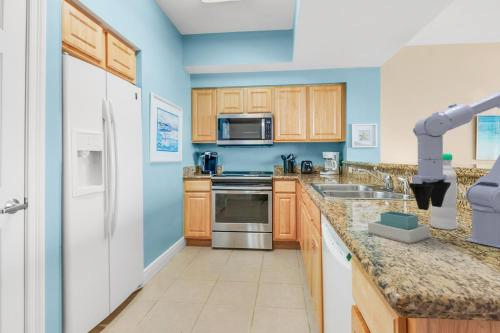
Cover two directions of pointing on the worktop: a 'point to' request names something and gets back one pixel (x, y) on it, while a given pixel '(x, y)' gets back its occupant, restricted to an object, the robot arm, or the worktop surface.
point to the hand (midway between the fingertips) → (430, 208)
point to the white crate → (399, 232)
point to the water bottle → (446, 200)
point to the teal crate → (399, 220)
